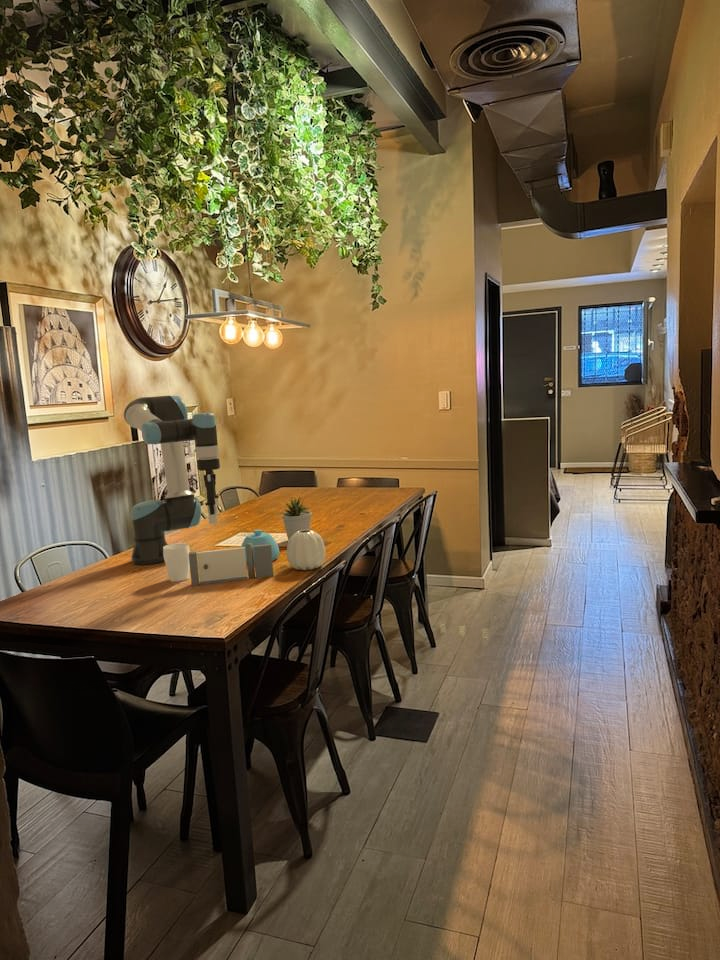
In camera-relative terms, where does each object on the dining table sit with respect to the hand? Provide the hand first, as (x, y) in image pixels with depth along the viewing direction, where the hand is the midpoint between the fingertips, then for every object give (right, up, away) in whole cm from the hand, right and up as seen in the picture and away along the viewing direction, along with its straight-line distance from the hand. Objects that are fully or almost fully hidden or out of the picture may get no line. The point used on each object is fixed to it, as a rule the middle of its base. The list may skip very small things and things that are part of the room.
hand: (213, 520), depth 224 cm
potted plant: (+24, -12, +50) cm, 57 cm away
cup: (-13, -21, +2) cm, 25 cm away
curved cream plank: (+4, -20, -4) cm, 21 cm away
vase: (+32, -18, +7) cm, 37 cm away
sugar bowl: (+13, -17, +22) cm, 31 cm away
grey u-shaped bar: (+7, -20, -3) cm, 22 cm away
